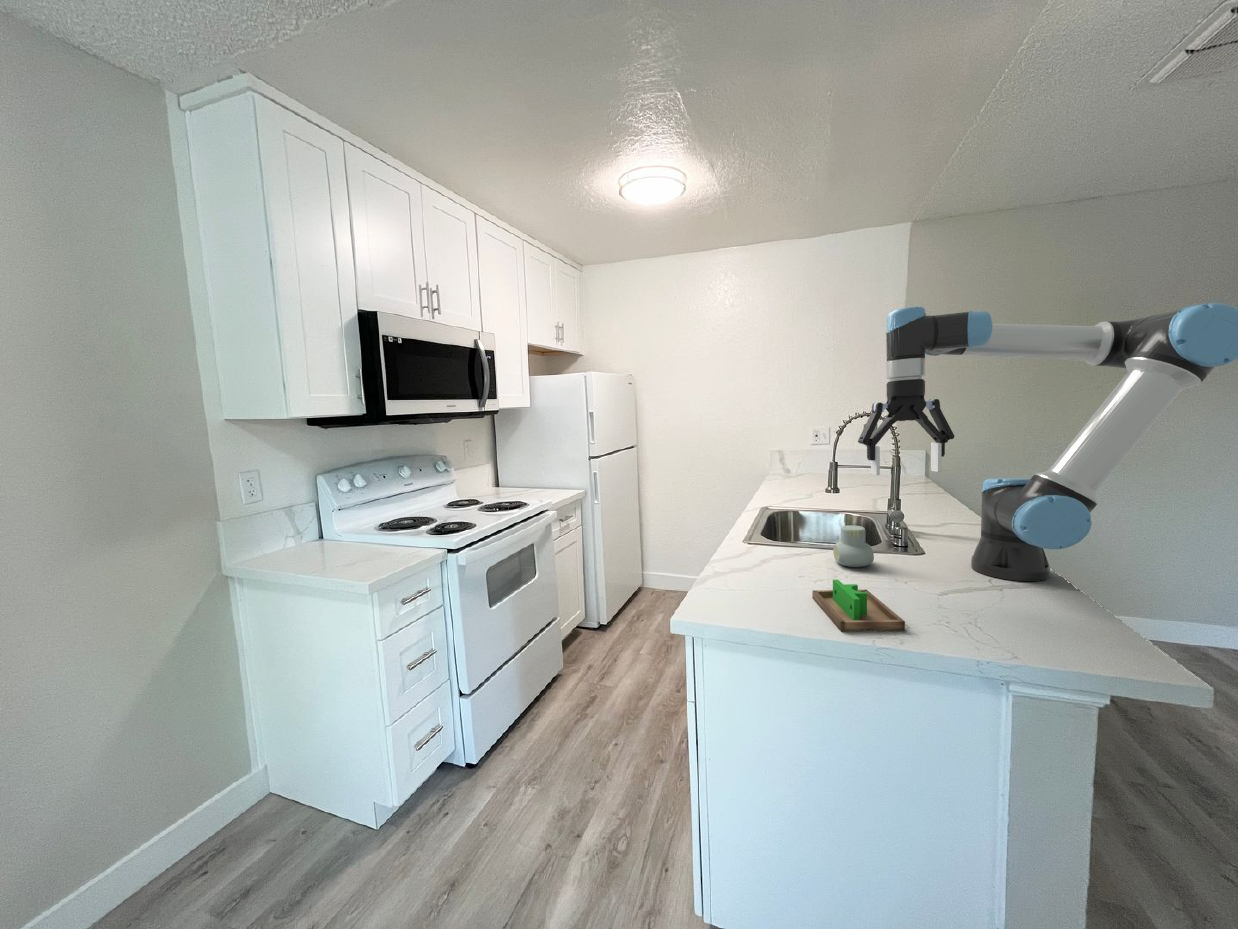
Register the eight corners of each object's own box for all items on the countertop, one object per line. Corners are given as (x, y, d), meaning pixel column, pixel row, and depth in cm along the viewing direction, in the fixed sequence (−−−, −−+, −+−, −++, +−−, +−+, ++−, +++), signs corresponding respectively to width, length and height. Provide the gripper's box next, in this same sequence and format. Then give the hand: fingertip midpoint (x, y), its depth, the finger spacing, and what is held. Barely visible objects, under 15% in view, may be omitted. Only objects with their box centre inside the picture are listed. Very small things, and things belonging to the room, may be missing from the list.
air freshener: (831, 558, 138) (831, 522, 136) (863, 558, 136) (864, 523, 135) (841, 570, 127) (841, 532, 126) (875, 571, 125) (876, 532, 124)
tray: (866, 597, 109) (866, 589, 109) (904, 630, 92) (905, 621, 92) (812, 598, 110) (812, 590, 109) (840, 631, 93) (841, 622, 93)
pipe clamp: (873, 621, 96) (874, 599, 95) (853, 622, 96) (854, 599, 95) (850, 599, 107) (850, 578, 106) (832, 599, 107) (832, 579, 106)
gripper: (951, 377, 114) (951, 468, 117) (842, 383, 116) (843, 473, 118) (973, 374, 107) (972, 471, 109) (856, 381, 108) (857, 477, 110)
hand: (905, 473), depth 113 cm, fingers open, 13 cm apart
